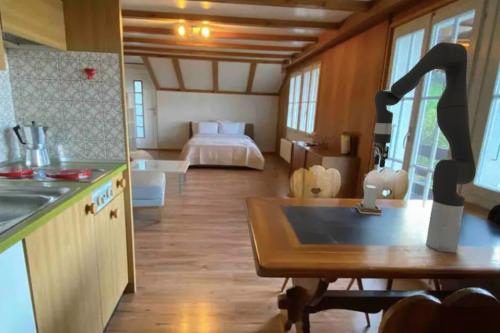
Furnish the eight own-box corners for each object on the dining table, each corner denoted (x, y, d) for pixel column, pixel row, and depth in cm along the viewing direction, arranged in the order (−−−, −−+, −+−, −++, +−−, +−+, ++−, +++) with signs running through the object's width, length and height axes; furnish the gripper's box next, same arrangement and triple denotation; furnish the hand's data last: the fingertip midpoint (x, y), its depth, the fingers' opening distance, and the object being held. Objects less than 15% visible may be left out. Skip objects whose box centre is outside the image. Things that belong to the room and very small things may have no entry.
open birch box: (380, 214, 136) (381, 210, 136) (360, 213, 138) (361, 208, 137) (375, 209, 145) (376, 204, 144) (356, 207, 146) (357, 203, 145)
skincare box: (375, 211, 138) (377, 188, 136) (366, 211, 138) (368, 187, 136) (370, 207, 144) (373, 185, 142) (362, 207, 144) (364, 184, 142)
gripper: (396, 134, 127) (392, 169, 129) (385, 132, 140) (382, 164, 143) (379, 133, 127) (375, 168, 130) (370, 131, 141) (366, 163, 144)
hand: (378, 165), depth 137 cm, fingers open, 8 cm apart
